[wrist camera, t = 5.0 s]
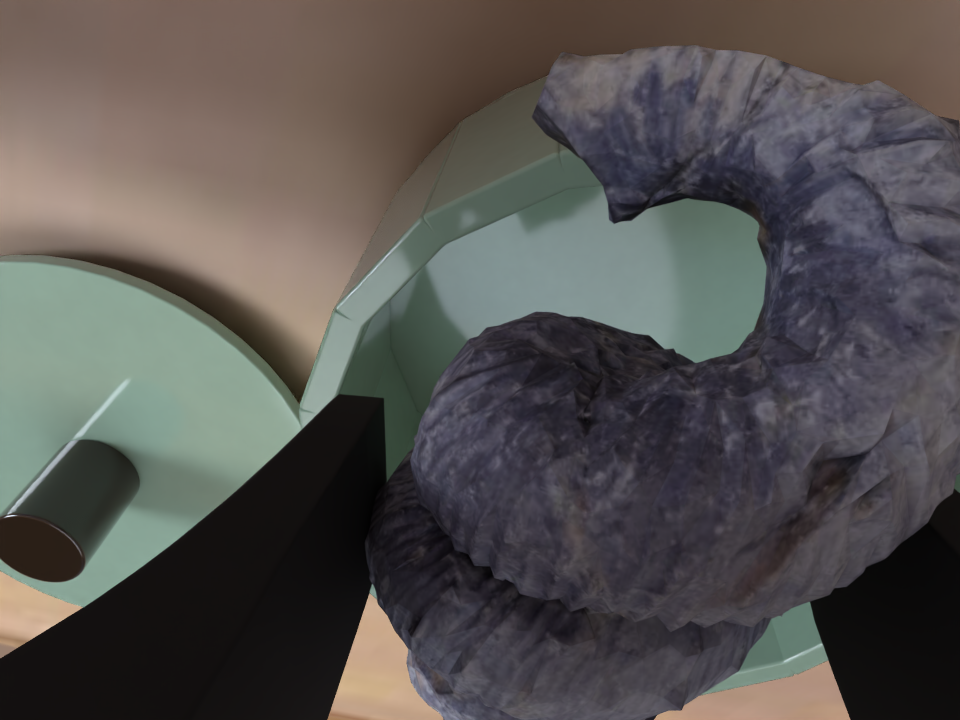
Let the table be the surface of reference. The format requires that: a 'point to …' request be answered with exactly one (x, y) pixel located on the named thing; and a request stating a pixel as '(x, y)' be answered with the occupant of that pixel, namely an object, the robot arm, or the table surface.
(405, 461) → the seashell
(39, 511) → the lid
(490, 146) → the crock
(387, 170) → the table surface
